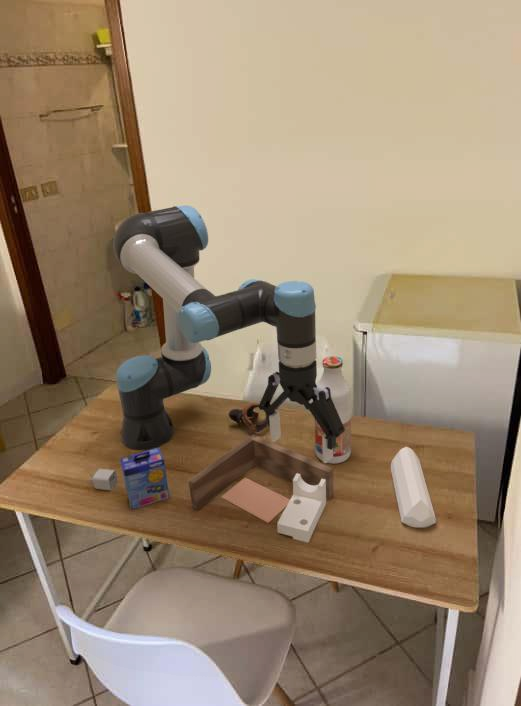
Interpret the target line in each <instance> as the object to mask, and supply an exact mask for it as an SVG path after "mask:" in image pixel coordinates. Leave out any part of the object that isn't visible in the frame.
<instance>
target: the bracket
mask: <svg viewBox="0 0 521 706" xmlns="http://www.w3.org/2000/svg"><path fill="white" fill-rule="evenodd" d="M292 489H293V490H292V491H293V493H292V495H291V498H289V499H290V501H289V503H288V505H287V506H286V508H285V509H284V510H283V511H282V514H281V516H280V518H279V520H277V524H276V525H277V526H276V527H277V528H276V529H277V533H278V534H282V535H286V536H289V537H292V539H293V540H297V541H300V542H302V543H303V542H304V543H308V544H309V542H310V540H311V538H312V535H313V534H314V532H315V529H316V526H317V524H318V523H319V520H320V518H321V516H322V514H323V512H324V509H325V507H326V506H327V498H326V479H321V481H320V483H319V484H318V485H309V484H307V483H305V482H304V481H303V480H302V478H301V475H300V474H298V473H296V475H295V477H294V479H293V482H292Z"/></svg>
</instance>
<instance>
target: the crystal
mask: <svg viewBox="0 0 521 706" xmlns="http://www.w3.org/2000/svg"><path fill="white" fill-rule="evenodd" d="M421 465H422V464H421V461H420V459H419V457H418V456H417V454H416V453H415V451H414V450H413V449H412V448H410V447H409V446H405V447H402V448H401V449H399V451H398V452H397V453H396V455H395V456H394V457H393V458H392V460H391V464H390V471H391V476H392V481H393V486H394V491H395V496H396V497H395V498H396V500H397V501H396V502H397V505H398V506H397V507H398V511H399V516H400V520H401V521H400V522H401V523H403V524H404V525H407V526H408V527H412V528H423V529H424V528H428V527H430V526H433V525H434V524H436V523H437V520H436V519H437V518H436V514H435V511H434V508H433V504H432V500H431V496H430V493H429V490H428V486H427V483H426V480H425V476H424V472H423V469H422V466H421Z"/></svg>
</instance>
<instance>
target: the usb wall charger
mask: <svg viewBox="0 0 521 706" xmlns="http://www.w3.org/2000/svg"><path fill="white" fill-rule="evenodd" d="M90 477H92V479H91V478H90V479H89V478H87V479H86V482H88V483H93V486H94V488H95V489H96V490H101V491H103V490H104V491H109V492H110V491H112V490H113V489H114V488H115V486H116V485H117V484H118V482H119V481H118V475H117V472H116V470H114V469H106V468H105V469H104V468H98V470H97V471H96V472H95V473H91V474H90Z"/></svg>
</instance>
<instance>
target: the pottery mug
mask: <svg viewBox="0 0 521 706" xmlns="http://www.w3.org/2000/svg"><path fill="white" fill-rule="evenodd" d="M259 404H260V403H252V404H249V405H246V406H245V407H244V408H242V409H239V408H236V409H235V408H234V409H231V410H230V411H229V413H228V416H229V418H230V419H231V420H232V421H233V422H235V423H236V424H237V425H238V426H240V425H241V424H242V423H244V424H245V426H247V427H248V428H249V431H248V434H249V435H250V436H251V435H252V434H253V435H255V434H256V433H259V432H262V431H263V430H265V429H266V428H267V427H268V424H267V414H266V413H265V418H264V420H262V421H261V422H255V424H252V423H253V421H252V420H250V418H255V419H258V417H259V415H260V413H259V412H257V411H254V410H255V409H256V408H259ZM255 436H256V435H255Z"/></svg>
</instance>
